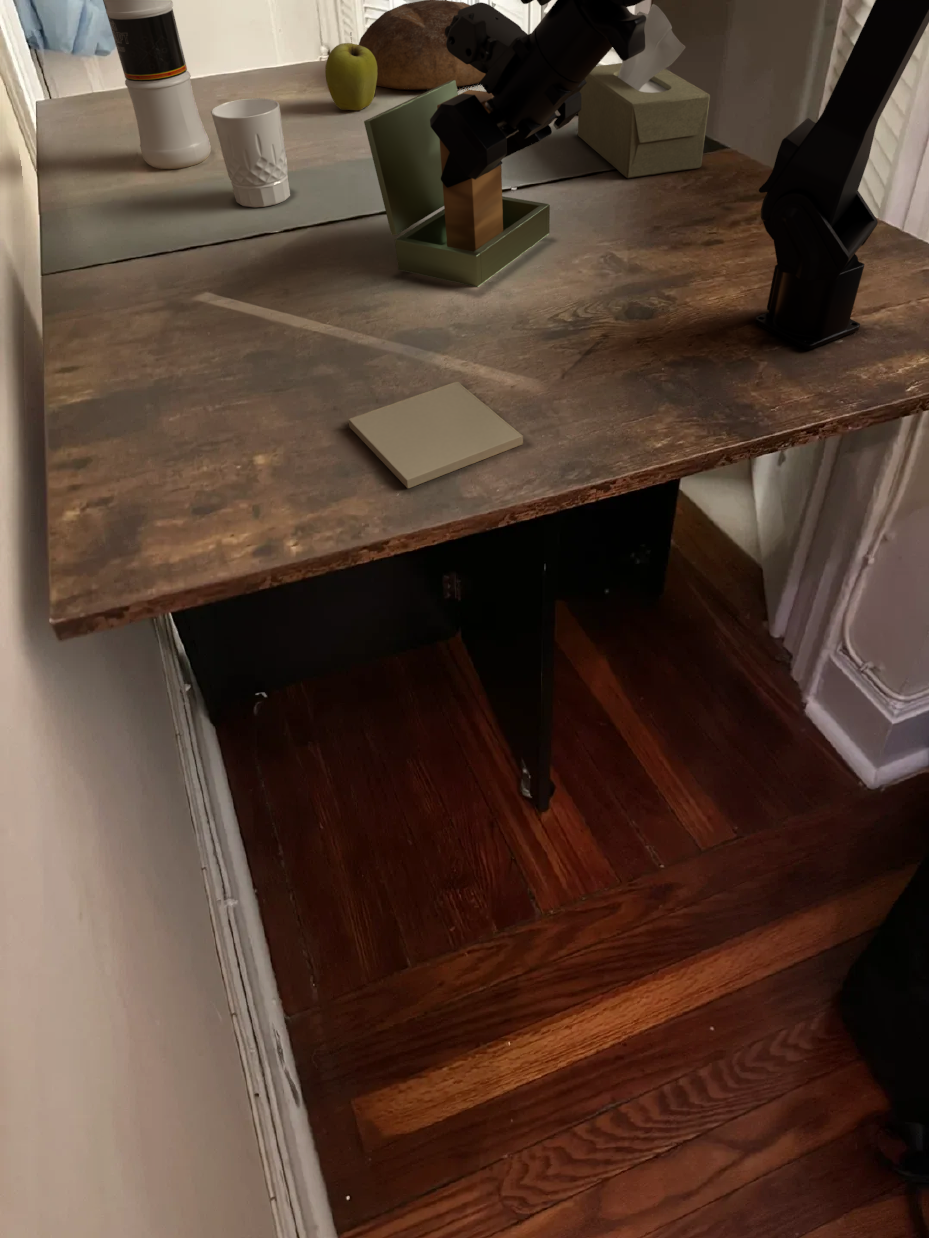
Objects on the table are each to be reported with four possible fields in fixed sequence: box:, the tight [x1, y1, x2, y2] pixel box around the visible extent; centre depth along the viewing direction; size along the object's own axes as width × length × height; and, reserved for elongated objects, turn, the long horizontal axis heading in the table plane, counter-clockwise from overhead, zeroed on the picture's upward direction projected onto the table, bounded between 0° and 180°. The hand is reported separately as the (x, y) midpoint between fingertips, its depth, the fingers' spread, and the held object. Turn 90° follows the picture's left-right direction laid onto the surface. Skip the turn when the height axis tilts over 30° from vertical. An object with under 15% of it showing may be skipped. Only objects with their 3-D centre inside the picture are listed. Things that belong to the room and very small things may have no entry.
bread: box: [358, 0, 486, 91], centre depth 143 cm, size 26×27×10 cm
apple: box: [324, 32, 377, 111], centre depth 132 cm, size 8×8×10 cm
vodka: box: [102, 0, 212, 170], centre depth 111 cm, size 9×9×30 cm
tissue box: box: [577, 3, 711, 180], centre depth 108 cm, size 19×10×16 cm, turn 14°
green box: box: [394, 195, 551, 288], centre depth 91 cm, size 10×15×4 cm, turn 147°
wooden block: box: [437, 89, 503, 252], centre depth 87 cm, size 4×6×14 cm, turn 147°
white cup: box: [210, 97, 291, 208], centre depth 105 cm, size 8×8×10 cm
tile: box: [348, 380, 524, 489], centre depth 68 cm, size 10×10×1 cm
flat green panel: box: [363, 80, 459, 236], centre depth 88 cm, size 10×15×1 cm
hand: (460, 173), depth 87 cm, fingers closed on wooden block, 5 cm apart
